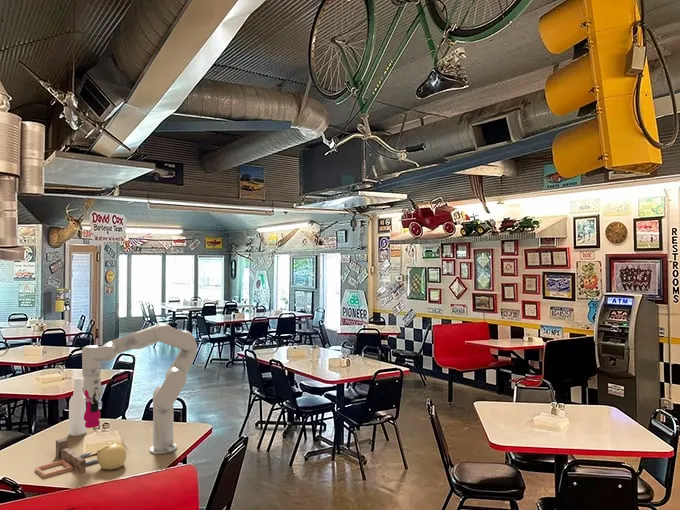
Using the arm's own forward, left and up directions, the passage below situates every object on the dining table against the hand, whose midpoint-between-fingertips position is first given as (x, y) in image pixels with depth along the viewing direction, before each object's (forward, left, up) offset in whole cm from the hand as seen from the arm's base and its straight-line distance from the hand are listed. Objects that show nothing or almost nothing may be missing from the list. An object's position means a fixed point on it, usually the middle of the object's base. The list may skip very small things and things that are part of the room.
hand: (92, 410), depth 236 cm
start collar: (0, 0, -23) cm, 23 cm away
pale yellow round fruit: (-16, -3, -24) cm, 28 cm away
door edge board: (+2, +8, -23) cm, 25 cm away
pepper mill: (0, 0, -8) cm, 8 cm away
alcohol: (+43, -10, -24) cm, 50 cm away
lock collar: (0, +16, -23) cm, 29 cm away
